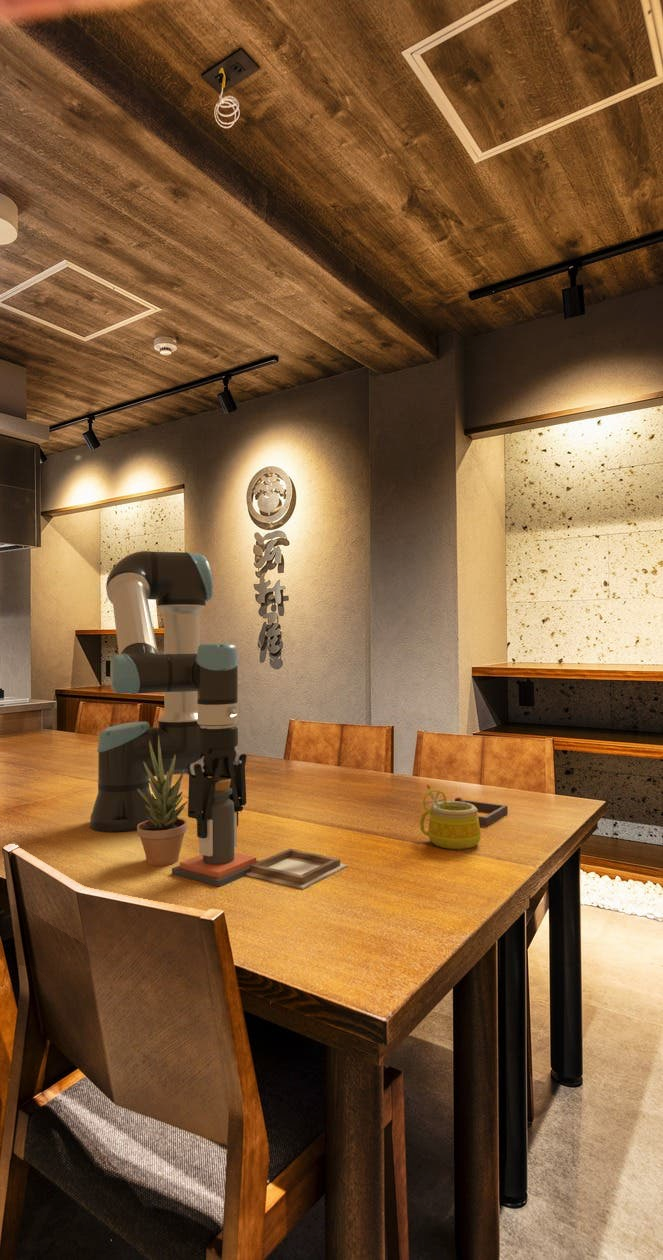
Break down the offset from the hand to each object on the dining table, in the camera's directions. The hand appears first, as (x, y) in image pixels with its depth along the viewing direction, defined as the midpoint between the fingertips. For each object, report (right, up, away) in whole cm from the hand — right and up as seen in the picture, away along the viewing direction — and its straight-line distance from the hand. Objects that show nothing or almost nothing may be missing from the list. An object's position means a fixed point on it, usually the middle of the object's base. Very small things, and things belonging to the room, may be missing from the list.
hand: (218, 849), depth 127 cm
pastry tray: (+55, -4, +38) cm, 67 cm away
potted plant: (-12, -4, +6) cm, 14 cm away
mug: (+46, -4, +16) cm, 49 cm away
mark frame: (+14, -4, 0) cm, 15 cm away
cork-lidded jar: (0, -2, 0) cm, 2 cm away
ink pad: (0, -4, 0) cm, 4 cm away
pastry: (+52, -4, +37) cm, 64 cm away
